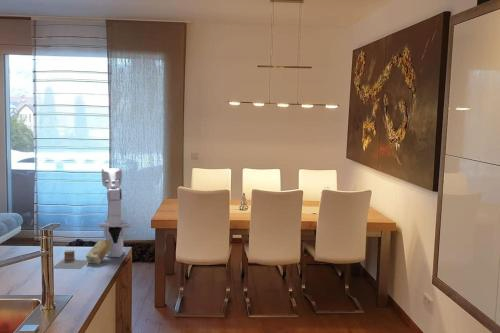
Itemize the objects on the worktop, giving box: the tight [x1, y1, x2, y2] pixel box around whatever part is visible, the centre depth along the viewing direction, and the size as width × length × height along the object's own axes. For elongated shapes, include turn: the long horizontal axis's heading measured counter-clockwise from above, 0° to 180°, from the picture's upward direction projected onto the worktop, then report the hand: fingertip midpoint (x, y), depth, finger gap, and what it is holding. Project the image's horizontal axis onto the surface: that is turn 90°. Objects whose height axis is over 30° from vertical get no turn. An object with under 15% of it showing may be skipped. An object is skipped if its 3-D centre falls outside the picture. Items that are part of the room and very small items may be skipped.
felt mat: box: [53, 259, 88, 270], centre depth 223 cm, size 12×13×1 cm
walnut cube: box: [63, 249, 75, 261], centre depth 230 cm, size 4×4×4 cm
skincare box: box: [85, 238, 112, 265], centre depth 228 cm, size 6×4×12 cm
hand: (115, 242), depth 223 cm, fingers closed
